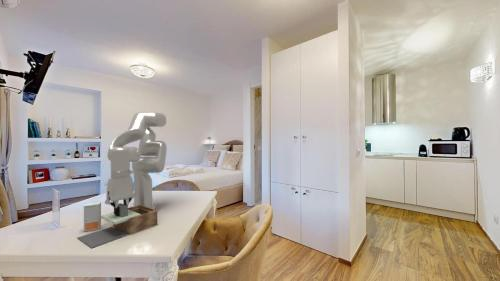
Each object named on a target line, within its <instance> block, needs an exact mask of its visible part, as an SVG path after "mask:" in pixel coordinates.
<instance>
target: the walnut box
mask: <svg viewBox="0 0 500 281" xmlns="http://www.w3.org/2000/svg"><path fill="white" fill-rule="evenodd" d="M128 210H131V211H133V212H136V213H139V214H141V215H138V216H135V217H132V218H129V220H128V221H125V222H122V223H119V224H116V225H115V224H112V227H113V228H115V229H117V230H119V231H121V232H123V233H125V234H127V235H130V236H131V235H133V234H136V233H138V232H141V231H144V230H147V229H149V228H152V227H155V226H157V225H158V210H157V209H151V208H148V207H145V206H142V205H137V206H134V205H133V206H129V207H128Z"/></svg>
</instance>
